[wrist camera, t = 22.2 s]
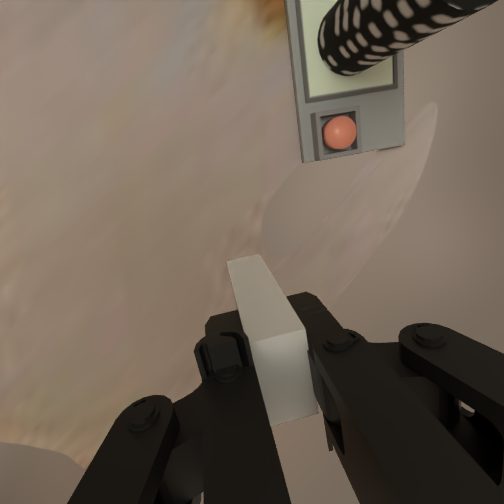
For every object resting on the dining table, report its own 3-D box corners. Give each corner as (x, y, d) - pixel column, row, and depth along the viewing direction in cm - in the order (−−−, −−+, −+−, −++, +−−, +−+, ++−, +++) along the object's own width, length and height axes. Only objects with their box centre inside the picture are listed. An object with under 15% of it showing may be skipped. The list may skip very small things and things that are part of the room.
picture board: (283, -10, 39) (289, -23, 36) (397, -24, 40) (412, -38, 38) (302, 162, 45) (309, 163, 42) (400, 144, 47) (413, 144, 44)
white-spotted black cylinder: (391, 40, 42) (552, -57, 23) (346, 90, 42) (463, 38, 24) (351, -16, 39) (493, -178, 20) (303, 39, 40) (397, -67, 21)
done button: (318, 120, 43) (325, 118, 40) (347, 115, 43) (355, 113, 41) (321, 151, 44) (328, 151, 42) (349, 146, 44) (357, 146, 42)
